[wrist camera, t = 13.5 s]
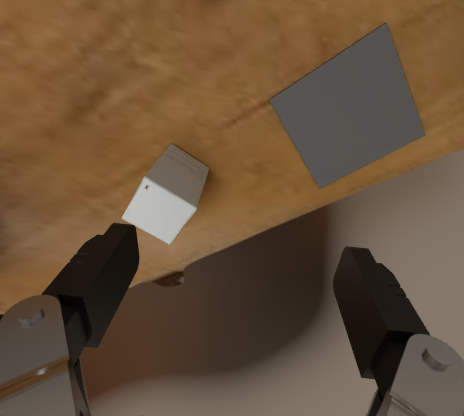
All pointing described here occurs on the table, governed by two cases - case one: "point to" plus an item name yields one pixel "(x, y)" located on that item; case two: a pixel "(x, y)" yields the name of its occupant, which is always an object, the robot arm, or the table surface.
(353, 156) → the mat
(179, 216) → the supplement box
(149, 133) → the table surface
